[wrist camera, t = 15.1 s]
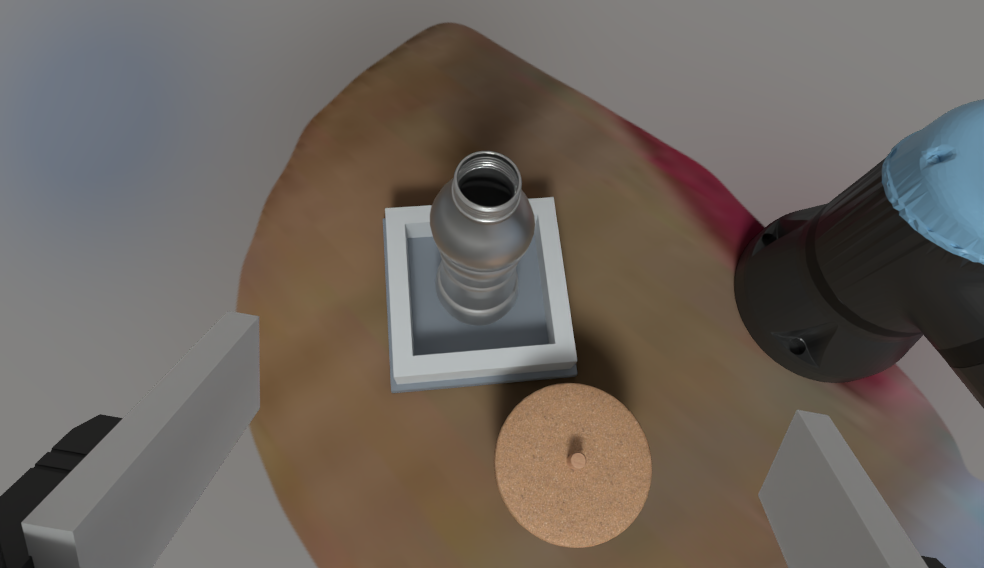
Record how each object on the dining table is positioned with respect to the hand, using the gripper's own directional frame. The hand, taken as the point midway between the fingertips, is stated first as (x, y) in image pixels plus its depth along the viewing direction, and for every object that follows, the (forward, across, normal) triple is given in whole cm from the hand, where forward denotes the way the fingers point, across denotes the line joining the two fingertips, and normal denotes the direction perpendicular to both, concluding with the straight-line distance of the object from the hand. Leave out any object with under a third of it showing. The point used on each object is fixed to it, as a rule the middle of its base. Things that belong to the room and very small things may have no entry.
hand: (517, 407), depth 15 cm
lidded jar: (+26, +6, -24) cm, 36 cm away
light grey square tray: (+35, -2, -15) cm, 38 cm away
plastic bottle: (+34, -2, -15) cm, 38 cm away
